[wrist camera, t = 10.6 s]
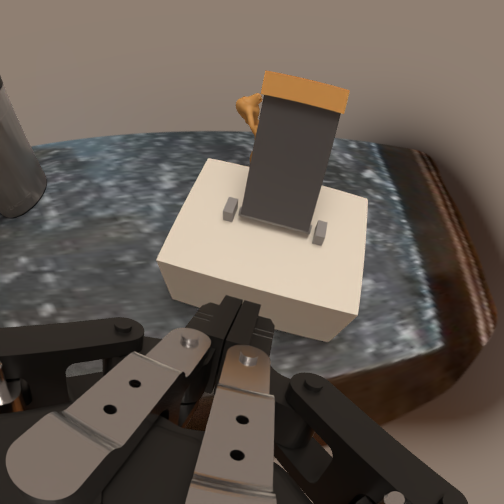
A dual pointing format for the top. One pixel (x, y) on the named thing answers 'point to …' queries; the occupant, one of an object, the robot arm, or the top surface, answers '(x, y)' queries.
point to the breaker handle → (291, 150)
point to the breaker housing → (267, 255)
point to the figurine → (250, 111)
